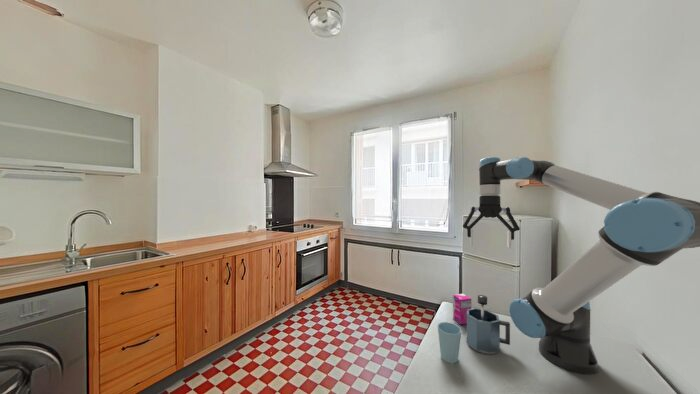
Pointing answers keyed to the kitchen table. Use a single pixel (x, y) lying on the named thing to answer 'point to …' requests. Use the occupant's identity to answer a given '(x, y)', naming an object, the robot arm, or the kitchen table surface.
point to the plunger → (482, 304)
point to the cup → (449, 341)
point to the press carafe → (485, 332)
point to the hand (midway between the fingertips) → (489, 246)
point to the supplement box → (461, 308)
